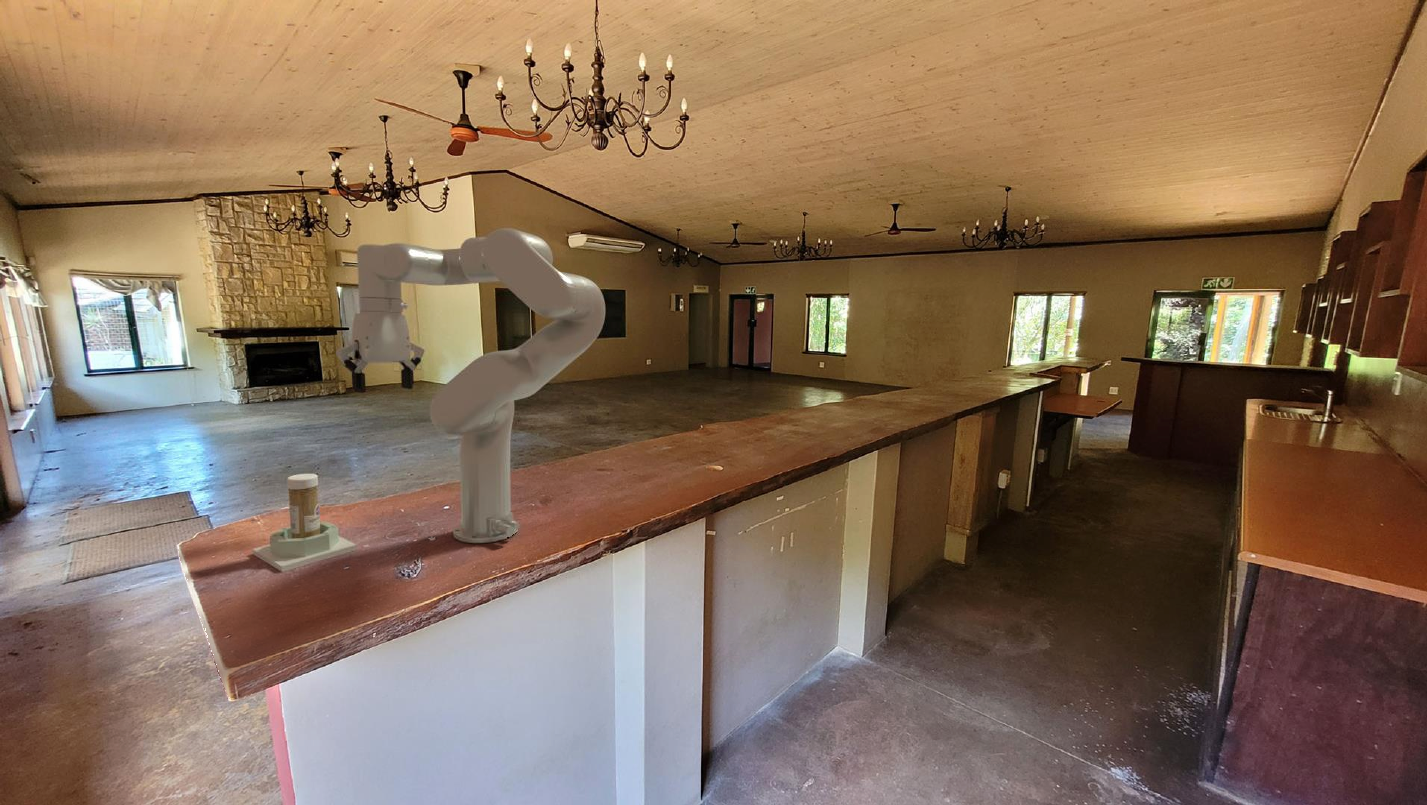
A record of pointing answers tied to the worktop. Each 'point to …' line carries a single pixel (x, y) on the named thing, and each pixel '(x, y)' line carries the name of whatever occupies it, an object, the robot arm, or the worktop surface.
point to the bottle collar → (303, 547)
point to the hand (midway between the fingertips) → (384, 390)
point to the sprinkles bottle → (303, 505)
